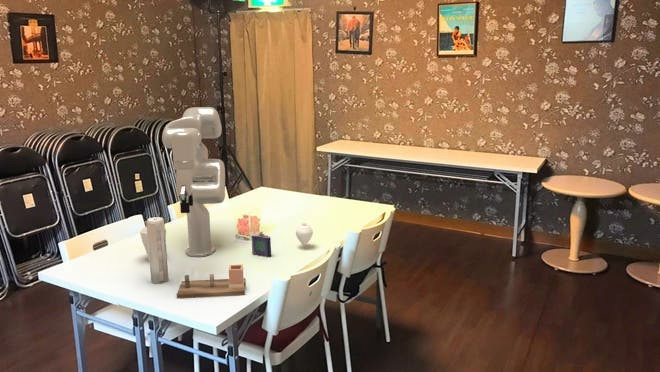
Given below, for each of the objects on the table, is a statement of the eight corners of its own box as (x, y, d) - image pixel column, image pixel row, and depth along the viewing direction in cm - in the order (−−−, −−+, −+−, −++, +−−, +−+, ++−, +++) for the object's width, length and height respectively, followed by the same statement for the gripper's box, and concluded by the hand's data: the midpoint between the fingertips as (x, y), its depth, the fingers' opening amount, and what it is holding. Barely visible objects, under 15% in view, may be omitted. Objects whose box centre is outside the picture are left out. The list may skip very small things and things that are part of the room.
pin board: (181, 284, 210) (180, 269, 208) (245, 281, 212) (245, 267, 211) (176, 298, 198) (175, 282, 197) (244, 295, 201) (243, 279, 199)
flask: (251, 254, 241) (250, 231, 238) (254, 252, 243) (254, 229, 241) (269, 258, 237) (268, 234, 234) (272, 255, 239) (272, 232, 237)
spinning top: (314, 245, 252) (313, 220, 249) (311, 251, 245) (311, 225, 242) (297, 244, 253) (296, 219, 250) (294, 250, 245) (294, 224, 243)
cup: (160, 265, 229) (158, 234, 226) (137, 263, 231) (135, 232, 228) (172, 256, 239) (170, 226, 236) (150, 254, 241) (148, 224, 238)
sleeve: (229, 282, 208) (229, 264, 206) (244, 281, 209) (243, 264, 207) (228, 288, 203) (228, 270, 201) (243, 287, 204) (242, 269, 202)
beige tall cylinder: (170, 277, 217) (166, 216, 211) (166, 283, 210) (161, 221, 205) (153, 277, 217) (148, 216, 211) (149, 284, 210) (143, 221, 204)
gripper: (177, 160, 212) (180, 203, 216) (169, 169, 195) (173, 216, 199) (197, 160, 213) (199, 202, 217) (191, 169, 196) (194, 215, 200)
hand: (187, 209), depth 208 cm, fingers open, 9 cm apart
